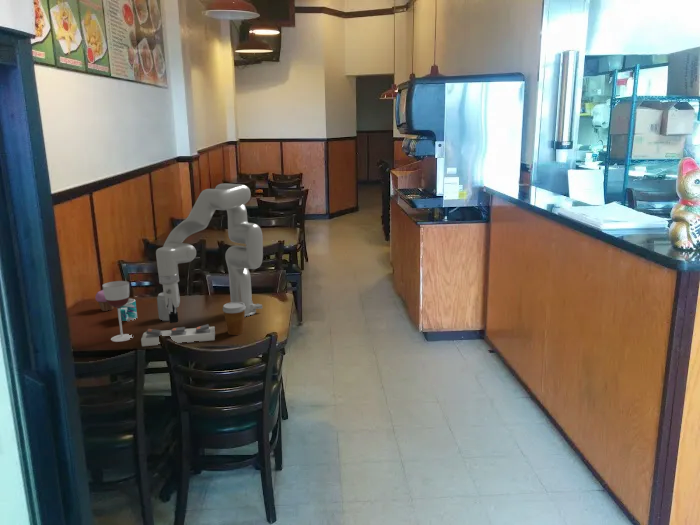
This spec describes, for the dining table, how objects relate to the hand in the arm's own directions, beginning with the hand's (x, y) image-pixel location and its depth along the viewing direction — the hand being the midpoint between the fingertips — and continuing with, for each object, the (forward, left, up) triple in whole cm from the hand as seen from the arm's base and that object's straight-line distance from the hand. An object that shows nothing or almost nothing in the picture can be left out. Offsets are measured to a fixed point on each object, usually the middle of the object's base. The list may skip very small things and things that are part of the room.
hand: (174, 322), depth 230 cm
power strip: (-1, -1, -8) cm, 8 cm away
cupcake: (+36, -50, -8) cm, 62 cm away
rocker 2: (-11, 0, -3) cm, 11 cm away
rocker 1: (+8, 0, -3) cm, 9 cm away
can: (+6, -29, -8) cm, 30 cm away
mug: (+24, -32, -8) cm, 41 cm away
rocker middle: (-1, 0, -3) cm, 4 cm away
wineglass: (+22, -9, -8) cm, 25 cm away
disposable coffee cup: (-24, -4, -8) cm, 25 cm away
